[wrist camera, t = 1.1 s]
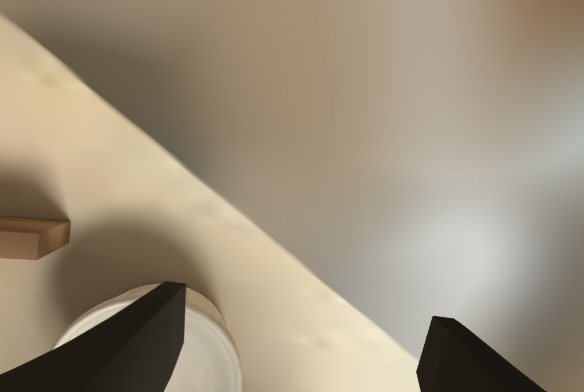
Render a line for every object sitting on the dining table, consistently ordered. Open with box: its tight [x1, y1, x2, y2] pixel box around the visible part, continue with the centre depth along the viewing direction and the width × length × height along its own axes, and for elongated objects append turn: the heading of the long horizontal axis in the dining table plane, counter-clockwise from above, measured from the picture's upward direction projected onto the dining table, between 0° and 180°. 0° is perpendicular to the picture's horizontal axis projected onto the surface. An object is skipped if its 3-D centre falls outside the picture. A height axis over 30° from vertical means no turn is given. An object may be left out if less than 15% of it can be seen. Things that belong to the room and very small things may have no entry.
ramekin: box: [51, 283, 242, 392], centre depth 23 cm, size 11×11×5 cm
